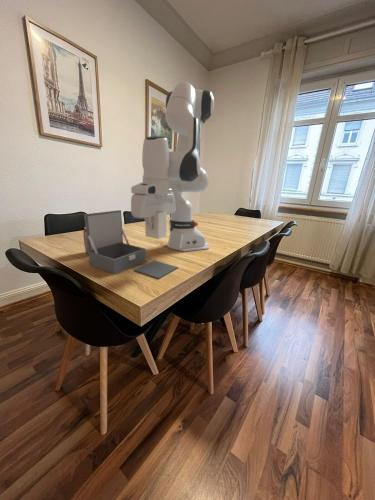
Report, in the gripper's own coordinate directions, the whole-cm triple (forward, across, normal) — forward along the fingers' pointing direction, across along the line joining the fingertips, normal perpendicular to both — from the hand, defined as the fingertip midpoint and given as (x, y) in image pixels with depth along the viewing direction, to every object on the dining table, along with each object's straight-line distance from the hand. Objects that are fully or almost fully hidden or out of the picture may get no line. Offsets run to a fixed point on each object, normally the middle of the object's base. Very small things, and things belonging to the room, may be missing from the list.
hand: (155, 228), depth 75 cm
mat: (+16, -1, 0) cm, 17 cm away
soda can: (+17, +2, -35) cm, 39 cm away
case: (+16, +3, -17) cm, 24 cm away
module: (+3, 0, 0) cm, 3 cm away
